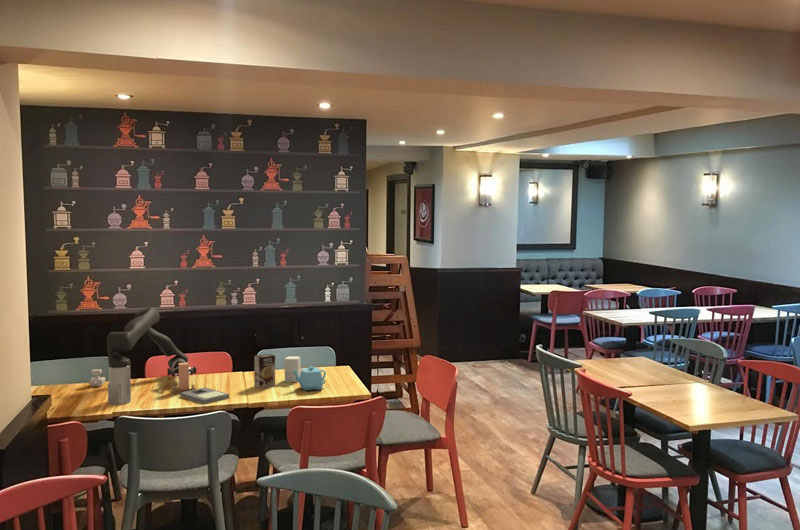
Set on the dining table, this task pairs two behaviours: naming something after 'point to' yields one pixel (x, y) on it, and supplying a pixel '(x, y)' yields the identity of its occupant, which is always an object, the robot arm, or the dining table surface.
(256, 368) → the coffee box
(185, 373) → the terracotta block
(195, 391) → the board
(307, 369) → the teapot
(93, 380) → the stamp
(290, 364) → the supplement box
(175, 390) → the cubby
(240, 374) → the dining table surface
